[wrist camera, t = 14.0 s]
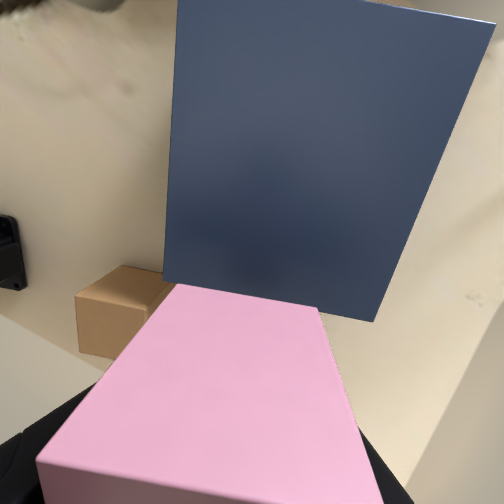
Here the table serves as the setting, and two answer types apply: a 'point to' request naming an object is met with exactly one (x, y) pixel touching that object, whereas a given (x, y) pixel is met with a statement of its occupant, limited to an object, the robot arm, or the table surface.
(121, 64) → the table surface
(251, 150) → the blue piece
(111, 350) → the kraft box
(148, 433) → the rose box
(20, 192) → the table surface
